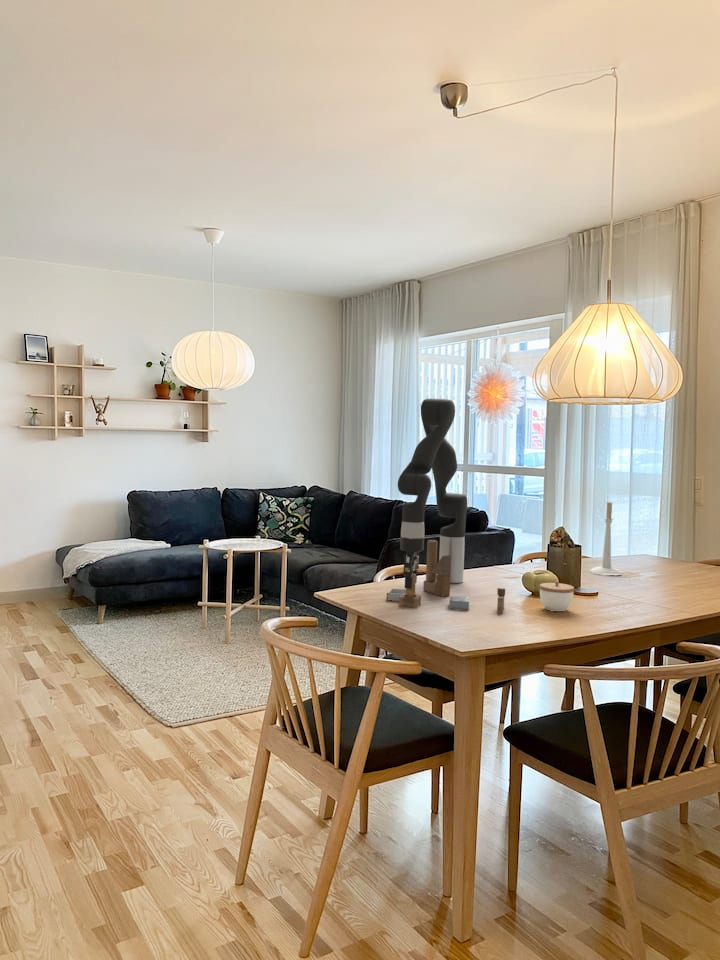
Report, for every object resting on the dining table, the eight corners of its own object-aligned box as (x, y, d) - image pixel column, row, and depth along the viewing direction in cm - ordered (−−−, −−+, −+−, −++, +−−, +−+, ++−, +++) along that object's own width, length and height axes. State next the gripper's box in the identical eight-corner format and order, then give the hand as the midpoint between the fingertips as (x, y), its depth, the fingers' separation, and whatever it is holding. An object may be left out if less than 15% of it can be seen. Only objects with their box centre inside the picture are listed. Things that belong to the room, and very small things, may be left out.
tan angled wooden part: (441, 597, 254) (443, 544, 253) (422, 590, 263) (424, 540, 262) (450, 596, 256) (452, 543, 254) (431, 590, 265) (433, 539, 264)
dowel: (406, 603, 242) (407, 573, 241) (415, 604, 241) (416, 573, 241) (404, 605, 239) (405, 574, 239) (413, 606, 238) (414, 575, 238)
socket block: (402, 602, 244) (402, 593, 244) (420, 603, 242) (421, 594, 242) (399, 606, 238) (399, 596, 238) (417, 607, 237) (418, 598, 236)
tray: (391, 595, 253) (391, 588, 253) (411, 597, 252) (411, 589, 252) (386, 600, 246) (386, 592, 245) (407, 602, 244) (407, 594, 244)
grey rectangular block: (450, 605, 243) (450, 596, 243) (469, 606, 242) (469, 597, 242) (449, 610, 236) (449, 600, 236) (468, 611, 235) (468, 601, 235)
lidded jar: (568, 606, 245) (569, 578, 245) (576, 614, 234) (578, 584, 234) (535, 605, 245) (536, 577, 245) (542, 613, 235) (543, 583, 234)
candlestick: (626, 576, 303) (630, 503, 301) (594, 575, 303) (598, 502, 302) (616, 571, 316) (620, 500, 314) (586, 570, 316) (589, 499, 314)
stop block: (497, 607, 241) (498, 585, 240) (505, 607, 240) (506, 586, 240) (495, 613, 232) (496, 591, 232) (503, 614, 232) (504, 591, 231)
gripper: (405, 532, 247) (403, 581, 247) (396, 537, 233) (394, 589, 234) (427, 533, 245) (425, 582, 246) (420, 539, 231) (418, 591, 232)
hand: (410, 585), depth 240 cm, fingers open, 8 cm apart
